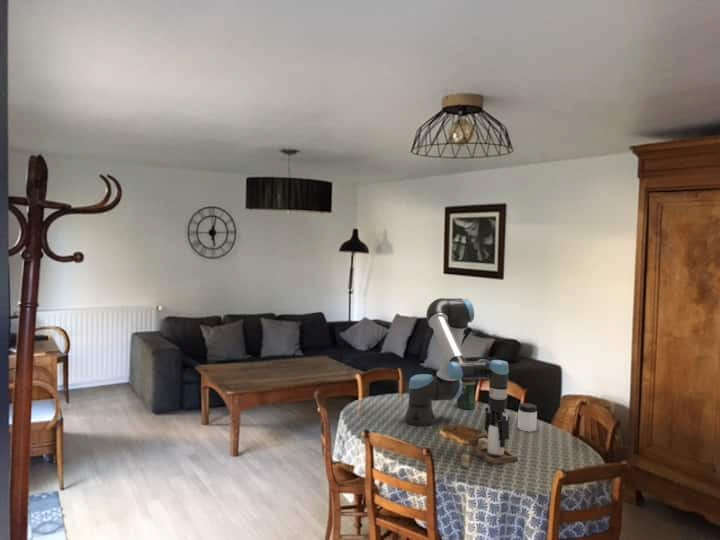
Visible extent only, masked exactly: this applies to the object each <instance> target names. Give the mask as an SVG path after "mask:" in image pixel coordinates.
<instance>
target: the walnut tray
mask: <svg viewBox="0 0 720 540" xmlns="http://www.w3.org/2000/svg"><path fill="white" fill-rule="evenodd" d="M473 455H475V456H476V457H478V458H480V459H482V460H483V461H485V462H487V463H488V464H490V465H491V466H492V465H500V464H507V463H513V462H518V461H519V456H518V455H516V454H514V453H512V452H510V451H509V450H507V449H505V448H504V455H493V454H490V453H489V452H488V449H487V448H474V449H473Z"/></svg>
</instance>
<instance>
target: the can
mask: <svg viewBox="0 0 720 540" xmlns="http://www.w3.org/2000/svg"><path fill="white" fill-rule="evenodd" d="M498 439H499V432H498V425H497V423H495V424H491V423H490V426H489V430H488V452H489V453H490V454H493V455H497V451H498Z"/></svg>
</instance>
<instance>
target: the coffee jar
mask: <svg viewBox="0 0 720 540" xmlns="http://www.w3.org/2000/svg"><path fill="white" fill-rule="evenodd" d="M461 381H462V393H461V395H460V397H459V398H458V399H456V400H457V401H456V406H457V407H458V408H459V409H463V410H473V409H475V407H476V406H475V404H476V403H475V401H476V400H475V385H476V383H477V382H476V379H461Z"/></svg>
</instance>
